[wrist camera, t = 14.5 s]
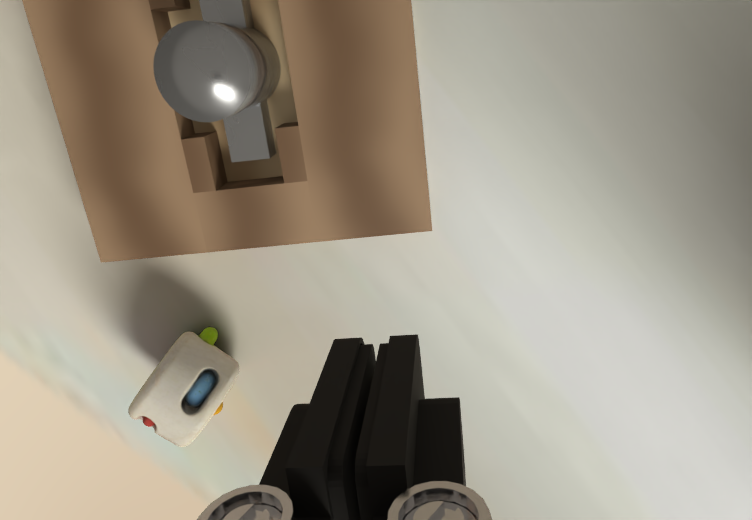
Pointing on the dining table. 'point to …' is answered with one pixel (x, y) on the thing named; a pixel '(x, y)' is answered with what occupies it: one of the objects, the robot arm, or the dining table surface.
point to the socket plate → (208, 139)
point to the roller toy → (186, 388)
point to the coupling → (222, 75)
